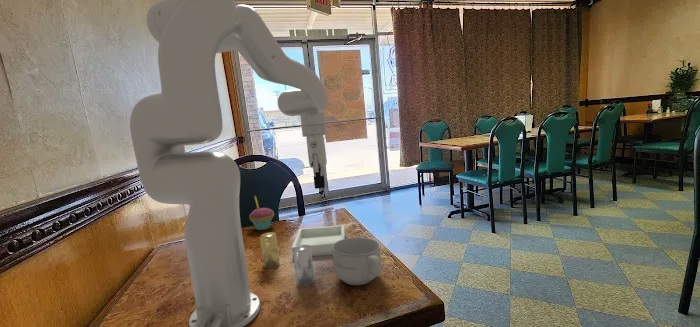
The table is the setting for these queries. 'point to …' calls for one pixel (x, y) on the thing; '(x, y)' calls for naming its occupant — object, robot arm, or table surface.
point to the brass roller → (269, 250)
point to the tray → (319, 239)
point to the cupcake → (261, 217)
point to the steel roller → (303, 265)
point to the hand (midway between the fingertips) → (319, 187)
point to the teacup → (357, 260)
